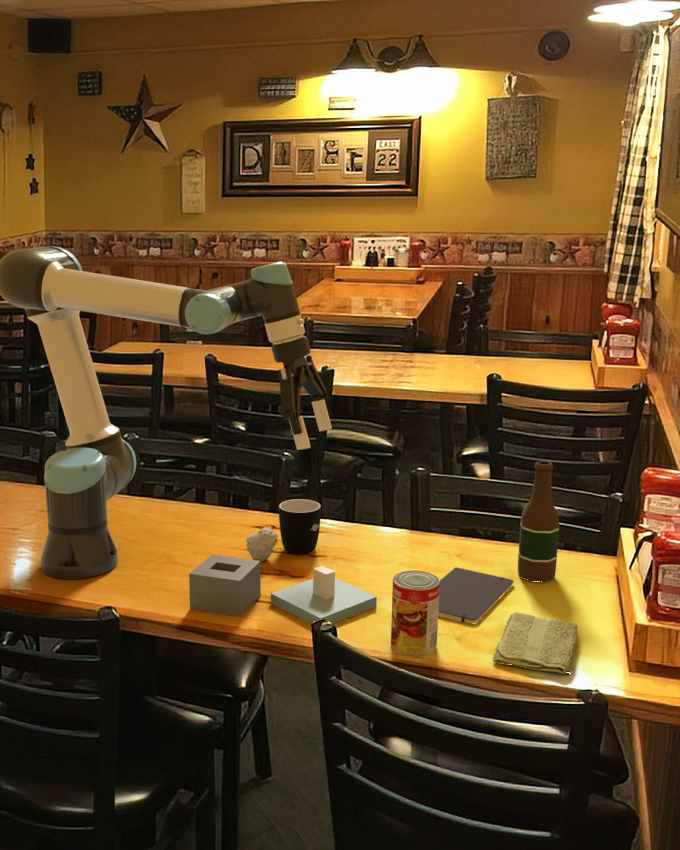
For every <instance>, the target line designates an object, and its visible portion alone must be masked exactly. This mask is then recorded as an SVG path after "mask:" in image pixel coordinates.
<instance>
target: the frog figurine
mask: <svg viewBox="0 0 680 850" xmlns="http://www.w3.org/2000/svg"><path fill="white" fill-rule="evenodd" d="M278 538H279V535H278V534H277V533H276V532H274V530H273V529H272V528H270V527H268V528H266V527H264V528H260V530H258V531H256V532H253V533H251V534H249V535H248V537H246V539H245V542H246V550H247V552H248V553H249V556H250V557H251V558H252V560H257V561H261V562H264V561H266V560H267V559H269V558H270V557H271V556H272V553H273V549H274V547H275V546H276V545H277V544H278V541H279V539H278Z"/></svg>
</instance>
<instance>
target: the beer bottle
mask: <svg viewBox="0 0 680 850" xmlns="http://www.w3.org/2000/svg"><path fill="white" fill-rule="evenodd" d="M533 468H534V469H535V471H534V473H535V474H534V479H533V487H532V494H531V497H530V500H529V501H528V503H526V505H525V506H524V508H523V510H522V513H521V518H520V524H519V525H520V526H519V538H518V539H519V540H518V541H519V542H518V556H517V572H518V575H519V578H520V577H522V578H525V579H528V580H530V581H540V582H541V581H542V582H546V581H548V582H550V581H549V580H551V579H553V580H555V578H556V571H557V559H558V547H559V546H558V545H559V535H560V518H559V515H558V511H557V509H556V507H555V506H554V503H553V499H552V483H553V482H552V479H553V477H552V475H553V472H552V471H553V470H554V466H553V463H552V462H550V461H546V460H539V461H536V462H535V464H534V467H533ZM522 578H521V579H522ZM530 581H529V582H530ZM551 581H552V580H551ZM540 582H539V583H540ZM546 583H547V582H546Z"/></svg>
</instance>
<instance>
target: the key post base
mask: <svg viewBox="0 0 680 850" xmlns="http://www.w3.org/2000/svg"><path fill="white" fill-rule="evenodd" d="M377 599H378V598H377V595H374V594H371V593H370V592H367V591H365V590H363V589H360V588H358V587H356V586H354V585H351V584H349V583H347V582H345V581H342V580H341V579H339V578H336V571H335V570H333V569H330V568H328V567H326V566H323V565H320V566H317V567H314V568H313V569H312V579H309V580H305V581H303V582H299V583H297V584H294V585H292V586H288V587H286V588H283V589H279V590H277V591H274V592H271V593H270V604H271V605H274V606H276V607H277V608H279V609H281V610H283V611H285V612H287V613H289V614H291V615H294V616H295V617H296V618H298V619H301V620H303V621H304V622H307V623H308V624H311V625H312V623H313V622H314V621H317V620H320V619H325V620H327V621H329V622H331V623H333V624H332V625H334V624H336V623H339V622H341V621H344V620H346V619H348V617H349V618H351V617H353V615H354V616H356V615H358V613H359V614H361V613H364V612H367V611H369V610H371V609H374V608H376V607H377V604H378V603H377V602H378V600H377ZM373 607H374V608H373ZM350 616H351V617H350ZM343 619H344V620H343Z"/></svg>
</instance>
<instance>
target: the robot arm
mask: <svg viewBox="0 0 680 850" xmlns="http://www.w3.org/2000/svg"><path fill="white" fill-rule="evenodd" d="M82 268H83V267H82V265H81V264H80V261H79V260H78V259H77V258H76V256H75V255H74V254H72V253H71V252H70V251H68V250H67V249H65V248H62V247H59V246H52V245H44V246H36V247H29V248H18V249H14V250H11V251H10V252H7V253H6V254H5V255H4V256H2V258H0V296H1V298H2V299H3V300H4V301H6V302H7V303H9V304H10V305H11V306H13V307H16V308H20V309H24V310H25V314H26V317H27V319H28V320H29V321H32V322H33V323H34V324H36V325H37V327H38V331H39V334H40V337H41V340H42V344H43V348H44V352H45V354H46V358H47V362H48V363H49V368H50V371H51V374H52V377H53V381H54V384H55V387H56V391H57V393H58V395H57V396H58V398H59V400H60V404H61V408H62V411H63V414H64V417H65V421H66V424H67V428H68V431H69V436H68V438H67V440H66V441H65V442H64V443H65V446H66V450H60V451H57V452H55V453H54V454H52V455H51V456H49V457H48V459H47V460H46V462H45V463H44V464H45V465H44V474H43V480H44V485H45V487H44V488H45V500H46V503H45V504H46V514H47V528H48V529H47V531H48V532H47V536H46V539H45V543H44V546H43V550H42V553H41V557H40V564H41V565H40V566H41V570H42V572H43V574H45V575H47V576H49V575H50V576H49V577H52V576H53V577H52V578H56V577H57V578H56V579H62V578H64V580H66V579H67V580H76V579H77V580H80V579H86V578H87V579H88V578H92V577H93V578H94V577H97V576H100V575H104V574H106V573H108V572H111V571H112V570H114V569H115V568H116V567H117V566H118V564H119V560H118V559H119V557H118V549H117V546H116V545H115V542H114V540H113V538H112V534H111V532H110V529H109V527H108V526H109V525H108V510H107V509H108V507H107V506H108V505H107V504H108V503H107V501H109V500H110V499H111V498H112V497H114V496H115V495H116V494H118V493H120V492H122V490H124V489H125V488H126V487H127V486H128V484H129V483H130V482H131V481H132V478H133V477H134V475H135V472H136V469H137V457H136V453H135V451H134V449H133V447H132V446H131V444H129V443H128V442H127V441H125V440H124V439H123V438H122V433H121V430H120V428H119V427H117V426H116V425H114V424H112V423H111V422H110V418H109V414H108V411H107V407H106V404H105V400H104V397H103V394H102V390H101V387H100V384H99V379H98V376H97V374H96V370H95V365H94V363H93V359H92V356H91V352H90V349H89V346H88V342H87V338H86V335H85V332H84V328H83V326H82V322H81V318H80V312H86V313H93V314H99V315H105V316H111V317H118V318H124V319H125V318H126V319H129V320H130V319H131V320H137V321H144V322H149V323H155V324H163V325H168V326H169V325H170V326H174V327H175V326H176V327H180V328H181V327H182V328H185V329H191V330H193V331H194V332H196V333H198V334H199V335H200V334H201V335H213V334H217V333H219V332H220V331H222V330H224V329H225V328H227V327H229V326H231V325H233V324H235V323H238V322H242V321H245V320H248V319H253V318H257V317H260V316H262V318H263V322H264V327H265V331H266V334H267V335H266V336H267V338H268V342H270V343H272V344H271V347H270V349H271V352H272V355H273V356H272V357H273V359H274V362H275V363H278V364H279V363H282V364H283V368H281V369H278V370H277V376H278V380H279V381H278V382H279V391H280V392H279V393H280V405H281V406H280V408H281V416H282V418H283V420H284V421H286V420H287V421H289V425H290V429H291V432H292V436H293V440H294V443H295V447H296V450H297V451H298V450H306V449H310V448H311V447H312V446H311V444H310V439H309V436H308V432H307V429H306V424H305V420H304V418H303V415H301V389H302V388H304V389H305V391H306V393H307V394H308V395H309V396H310V398H311V399H312V401H311V406H312V408H313V413H314V416H315V417H314V418H315V420H316V424H317V427H318V431H319V432H325V431H329V430H332V428H333V427H332V423H331V418H330V416H329V412H328V409H327V404H326V400H325V399H327V398H329V394H328V391H327V388H326V387H325V384H324V381H323V380H322V378H321V376H320V374H319V372H318V370H317V368H316V366H315V364H314V361H313V357H312V355H311V347H310V345H309V344H310V343H309V340H308V337H307V336H306V335H305V333H306V330H305V326H304V324H305V318H302V314H301V310H300V307H299V304H298V303H299V302H298V300H297V295H296V291H295V287H294V281H293V280H292V277H291V274H290V271H289V269H288V265H287V264H286V263H285V262H283V261H276V262H274V263H269V264H264V265H262V266H257V267H255V268H252V269H251V270H250V275H251V276H250V279H247V280H245V281H239V282H235V283H232V284H227V285H224V286H219V287H214V288H211V289H208V290H203V289H198V288H190V287H184V286H179V285H178V286H177V285H173V284H168V283H167V284H166V283H159V282H154V281H146V280H140V279H133V278H128V277H123V276H117V275H116V276H115V275H109V274H102V273H96V272H90V271H83V269H82ZM65 578H66V579H65Z"/></svg>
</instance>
